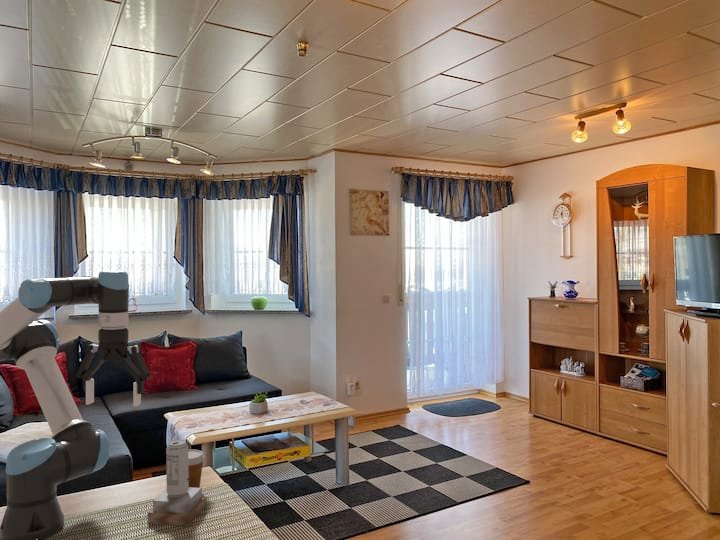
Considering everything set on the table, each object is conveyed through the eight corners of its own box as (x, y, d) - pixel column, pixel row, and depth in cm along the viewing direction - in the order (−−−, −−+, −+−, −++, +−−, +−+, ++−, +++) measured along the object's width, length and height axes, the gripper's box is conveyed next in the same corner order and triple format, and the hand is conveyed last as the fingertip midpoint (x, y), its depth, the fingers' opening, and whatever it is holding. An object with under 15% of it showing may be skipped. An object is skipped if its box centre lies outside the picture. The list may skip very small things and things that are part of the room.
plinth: (147, 523, 155) (147, 501, 155) (168, 504, 167) (168, 484, 167) (188, 526, 154) (188, 504, 154) (206, 506, 166) (206, 486, 165)
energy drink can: (192, 493, 161) (192, 442, 160) (173, 500, 156) (173, 447, 156) (181, 487, 165) (181, 437, 164) (162, 494, 160) (162, 442, 160)
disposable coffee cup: (181, 501, 169) (181, 462, 169) (168, 491, 176) (167, 453, 176) (210, 492, 176) (209, 454, 175) (196, 483, 183) (196, 446, 183)
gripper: (61, 327, 149) (61, 406, 150) (150, 330, 147) (150, 410, 148) (78, 324, 157) (78, 398, 158) (163, 326, 155) (163, 402, 155)
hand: (113, 404), depth 153 cm, fingers open, 13 cm apart
